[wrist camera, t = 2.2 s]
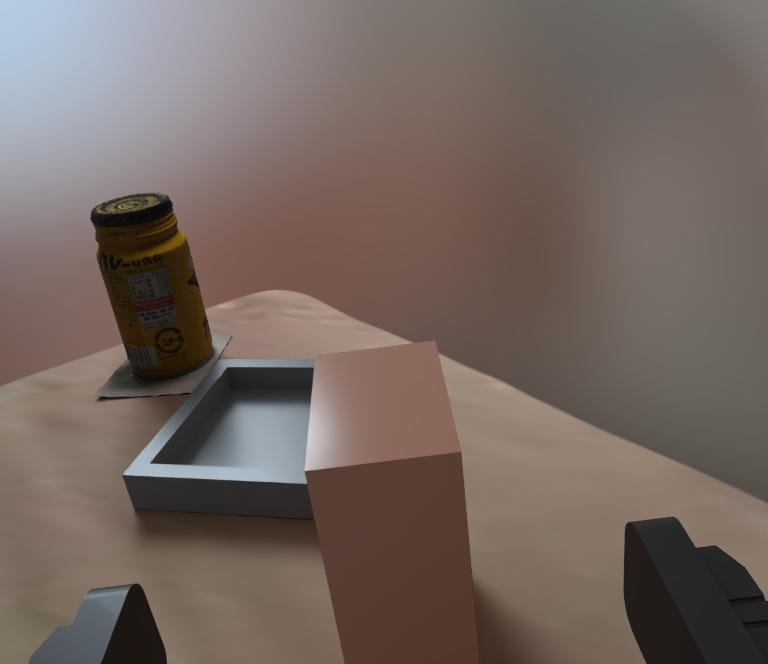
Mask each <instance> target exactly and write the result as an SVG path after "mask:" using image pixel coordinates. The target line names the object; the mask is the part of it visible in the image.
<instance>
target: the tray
mask: <svg viewBox="0 0 768 664" xmlns="http://www.w3.org/2000/svg"><path fill="white" fill-rule="evenodd" d="M314 364H315V359H219V361H218V362H217V363H216V364H215V365H214V367H213V368H212V369H211V370H210V371H209V372H208V374H207V375H206V376H205V377H204V378H203V380H202V381H201V382H200V383H199V384H198V386H197V387H196V388H195V389H194V390H193V391H192V393H191V394H190V395H189V396H188V397H187V399H186V400H185V401H184V402H183V403H182V405H181V406H180V407H179V408H178V409H177V411H176V412H175V413H174V414H173V415H172V416H171V418H170V419H169V420H168V421H167V422H166V424H165V425H164V426H163V427H162V428H161V430H160V431H159V432H158V433H157V434H156V435H155V437H154V438H153V439H152V440H151V441H150V443H149V444H148V445H147V446H146V447H145V449H144V450H143V451H142V452H141V453H140V454H139V456H138V457H137V458H136V459H135V460H134V462H133V463H132V464H131V465H130V466H129V468H128V469H127V470H126V471H125V472H124V473H123V475H122V476H123V478H124V481H125V484H126V487H127V490H128V493H129V496H130V498H131V501H132V504H133V507H134V509H149V510H166V511H182V512H199V513H216V514H232V515H249V516H265V517H282V518H298V519H314V514H313V509H312V505H311V500H310V495H309V490H308V486H307V481H306V476H305V460H306V449H307V439H308V428H309V417H310V407H311V396H312V385H313V375H314Z"/></svg>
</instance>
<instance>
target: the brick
mask: <svg viewBox="0 0 768 664" xmlns="http://www.w3.org/2000/svg"><path fill="white" fill-rule="evenodd" d="M305 476H306V481H307V486H308V490H309V495H310V500H311V505H312V509H313V514H314V519H315V524H316V529H317V533H318V538H319V543H320V548H321V552H322V557H323V562H324V567H325V571H326V576H327V581H328V586H329V590H330V595H331V600H332V605H333V609H334V614H335V619H336V624H337V629H338V633H339V638H340V643H341V648H342V652H343V657H344V662H345V664H480V660H479V648H478V637H477V626H476V614H475V603H474V592H473V580H472V569H471V558H470V546H469V535H468V524H467V512H466V501H465V489H464V478H463V467H462V455H461V449H460V445H459V440H458V436H457V432H456V428H455V423H454V419H453V415H452V411H451V406H450V402H449V398H448V394H447V389H446V385H445V381H444V377H443V372H442V368H441V364H440V360H439V355H438V351H437V347H436V342H435V341H428V342H420V343H413V344H405V345H397V346H389V347H381V348H373V349H365V350H357V351H349V352H341V353H333V354H326V355H318V356H315V364H314V375H313V385H312V396H311V407H310V417H309V428H308V439H307V449H306V460H305Z"/></svg>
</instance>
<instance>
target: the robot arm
mask: <svg viewBox="0 0 768 664" xmlns="http://www.w3.org/2000/svg"><path fill="white" fill-rule="evenodd" d="M624 601H625V607H626V612H627V616H628V620H629V623H630V626H631V629H632V631H633V634H634V636H635V639H636V641H637V643H638V645H639V648H640V650H641V652H642V655H643V657H644V659H645V661H646V664H768V601H766V600H765V598H764V594H763V593H762V591H761V590H760V589H759V587H758V586H757V584H756V583H755V581H754V580H753V578H752V577H751V575H750V574H749V572H748V571H747V569H746V568H745V567H744V566H742V565H741V564H740V563H738V562H737V561H736V560H735V559H733V558H732V557H731V556H729V555H728V554H727V553H725V552H724V551H723V550H721V549H720V548H719V547H717V546H716V545H715V546H707V547H699V548H696V547H695V546H694V544H693V542H692V541H691V539H690V538H689V536H688V534H687V533H686V531H685V529H684V528H683V526H682V525H681V523H680V522H679V521H678V519H676V518H675V517H666V518H658V519H651V520H643V521H635V522H628V523H627V524H626V527H625V547H624ZM28 664H167V659H166V652H165V648H164V645H163V642H162V639H161V636H160V634H159V631H158V628H157V626H156V623H155V620H154V617H153V615H152V612H151V609H150V607H149V604H148V601H147V598H146V596H145V593H144V591H143V589H142V587H141V586H140V585H139V584H128V585H120V586H112V587H105V588H97V589H92V590H90V591H89V592H88V593H87V594H86V596H85V598H84V600H83V602H82V604H81V606H80V609H79V611H78V613H77V615H76V618H75V620H74V622H73V624H72V625H69V626H61V627H57V628H56V630H55V631H54V632H53V633H52V634H51V635H50V636H49V637H48V638H47V640H46V641H45V642H44V643H43V644H42V645H41V646H40V647H39V648H38V650H37V651H36V652H35V653H34V654H33V655H32V657H31V659H30V661H29V663H28Z"/></svg>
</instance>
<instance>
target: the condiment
mask: <svg viewBox="0 0 768 664" xmlns="http://www.w3.org/2000/svg"><path fill="white" fill-rule="evenodd" d="M172 206H173V205H172V202H171V201H170V199H169V197H168V196H167V195H164V194H161V193H142V194H133V195H128V196H123V197H119V198H116V199H113V200H109V201H107V202H104V203H102V204H100V205H98V206H96V207H95V208H94V209H93V210H92V211H91V218H90V219H91V221H92V222H93V225H94V227H95V229H96V241H97V242H98V243H99V247H98V251H97V260H98V264H99V267H100V270H101V273H102V276H103V280H104V283H105V286H106V289H107V292H108V295H109V298H110V302H111V306H112V309H113V312H114V315H115V318H116V321H117V324H118V328H119V330H120V334H121V337H122V340H123V344H124V347H125V350H126V353H127V358H128V359H127V360H126V361H125V362H124V363H123V364H122V365H121V366H120V367H119V369H117V370H116V371H115V372H114V374H113V375H112V376H111V377H110V378H109V380H108V381H107V382H106V384H105V385H103V386H102V387H101V388H100V389H99V390H98V392H97V393H96V394H95V395H94V396H106V397H123V396H129V397H135V396H157V395H163V394H181V393H192V391H193V390H194V389H195V388H196V387H197V386H198V384H199V383H200V382H201V381H202V380H203V378H204V377H205V376H206V375H207V374H208V372H209V371H210V369H211V368H212V367H213V365H214V364H215V362H216V361H217V360H218V358H219V356H220V354H221V353H222V351H223V349H224V348H225V347H226V344H227V343H228V342H229V340H230V338H231V335H232V334H224V335H216V336H213V335H212V336H211V333H210V328H209V324H208V320H207V316H206V313H205V309H204V305H203V301H202V298H201V294H200V289H199V284H198V282H197V278H196V274H195V270H194V265H193V261H192V256H191V254H190V248H189V246H188V242H187V239H186V237H185V234H184V233H183V232H181V231H180V230H179V229H178V228H177V218H176V216H175V214H174V213H173V208H172ZM130 375H132V376H130ZM181 377H184V378H181ZM180 378H181V379H180ZM177 379H179V380H178V381H176V382H174V381H175V380H177Z"/></svg>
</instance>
